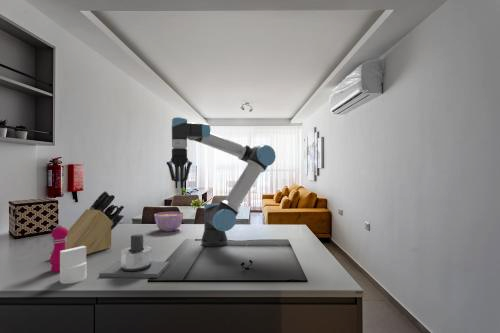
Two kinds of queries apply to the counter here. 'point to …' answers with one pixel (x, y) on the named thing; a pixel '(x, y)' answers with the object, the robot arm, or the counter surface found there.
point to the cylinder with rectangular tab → (73, 265)
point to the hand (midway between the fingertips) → (179, 194)
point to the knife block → (95, 226)
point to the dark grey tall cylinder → (136, 243)
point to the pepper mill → (58, 246)
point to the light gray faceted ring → (136, 259)
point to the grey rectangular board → (151, 272)
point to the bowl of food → (168, 220)
